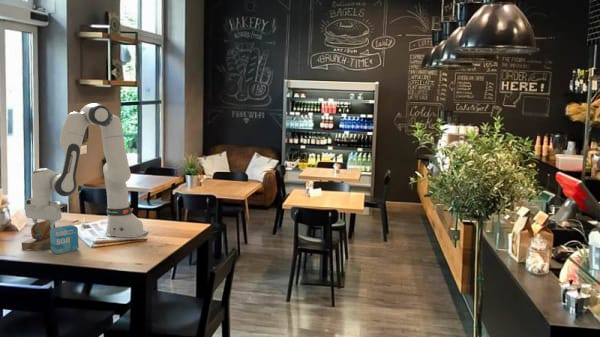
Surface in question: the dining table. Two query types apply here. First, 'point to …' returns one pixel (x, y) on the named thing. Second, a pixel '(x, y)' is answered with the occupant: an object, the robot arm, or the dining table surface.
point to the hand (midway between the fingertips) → (44, 227)
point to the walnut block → (37, 244)
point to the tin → (41, 230)
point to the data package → (64, 239)
